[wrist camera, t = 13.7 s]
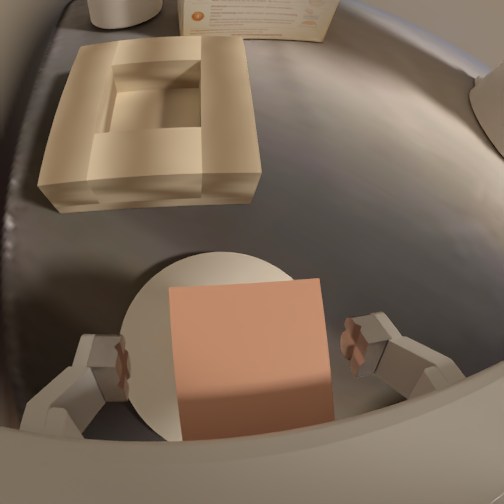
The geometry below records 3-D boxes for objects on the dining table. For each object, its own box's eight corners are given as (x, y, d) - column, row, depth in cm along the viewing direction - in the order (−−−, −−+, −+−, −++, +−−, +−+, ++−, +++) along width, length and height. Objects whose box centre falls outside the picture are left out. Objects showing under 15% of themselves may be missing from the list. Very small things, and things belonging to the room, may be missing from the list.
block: (262, 313, 18) (319, 278, 10) (270, 390, 17) (334, 421, 9) (182, 318, 18) (168, 287, 9) (189, 398, 16) (182, 442, 8)
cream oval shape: (308, 252, 21) (313, 247, 20) (328, 434, 18) (334, 438, 17) (119, 260, 19) (115, 256, 18) (134, 455, 15) (130, 460, 14)
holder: (236, 71, 25) (243, 37, 21) (250, 203, 21) (261, 172, 18) (89, 79, 23) (80, 46, 19) (60, 213, 19) (37, 185, 15)
